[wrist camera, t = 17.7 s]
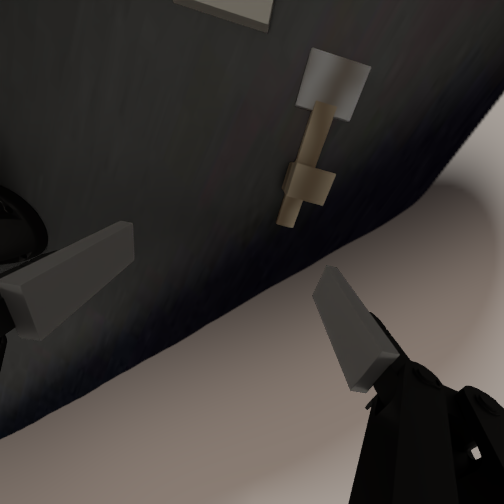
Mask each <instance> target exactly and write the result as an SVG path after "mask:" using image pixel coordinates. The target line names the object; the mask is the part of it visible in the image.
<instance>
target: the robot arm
mask: <svg viewBox="0 0 504 504" xmlns="http://www.w3.org/2000/svg"><path fill="white" fill-rule="evenodd" d="M46 245H47V234H46V230H45V227H44V225H43V223H42V221H41V219H40V218H39V216H38V215H37V214H36V212H35V211H34V210H33V209H32V208H31V207H30V206H29V205H28V204H27V203H26V202H25V201H24V200H23V199H22V198H20V197H19V196H18V195H16V194H15V193H13V192H11V191H9V190H8V189H6V188H3V187H1V186H0V265H4V264H10V263H16V262H22V261H25V260H28V259H30V258H33V257H35V256H37V255H39V254H41V253H42V252H43V251H44V249H45V248H46ZM134 260H135V257H134V235H133V223H130V222H125V221H119V222H116V223H114V224H112V225H110V226H108V227H106V228H104V229H102V230H100V231H98V232H96V233H94V234H92V235H90V236H87V237H85V238H83V239H81V240H79V241H77V242H75V243H73V244H71V245H69V246H67V247H65V248H63V249H61V250H59V251H53V252H49V253H46V254H42V255H40V256H38V257H35V258H33V259H31V260H30V261H27V262H25V263H22V264H20V265H19V266H16V267H14V268H12V269H10V270H7V271H5V272H3V273H1V274H0V371H1V367H2V362H3V358H4V353H5V349H6V345H7V338H6V335H5V334H6V333H8V332H9V331H11V330H12V329H13V328H16V330H17V333H18V335H19V337H20V338H23V339H29V340H36V341H42V340H43V339H44V338H45V337H46V336H47V335H49V334H50V333H51V332H52V331H53V330H54V329H56V328H57V327H58V326H59V325H60V324H61V323H62V322H64V321H65V320H66V319H67V318H68V317H69V316H71V315H72V314H73V313H74V312H75V311H76V310H78V309H79V308H80V307H81V306H82V305H83V304H84V303H86V302H87V301H88V300H89V299H90V298H91V297H93V296H94V295H95V294H96V293H97V292H98V291H99V290H101V289H102V288H103V287H104V286H105V285H106V284H108V283H109V282H110V281H111V280H112V279H113V278H114V277H116V276H117V275H118V274H119V273H120V272H121V271H123V270H124V269H125V268H126V267H127V266H128V265H129V264H131V263H132V262H133V261H134ZM312 296H313V299H314V301H315V304H316V306H317V309H318V311H319V314H320V316H321V319H322V321H323V324H324V326H325V329H326V331H327V334H328V336H329V339H330V341H331V344H332V346H333V349H334V351H335V353H336V356H337V358H338V361H339V364H340V366H341V368H342V371H343V373H344V376H345V378H346V381H347V383H348V386H349V388H350V391H356V392H362V393H367V392H368V390H369V389H370V388H371V387H372V386H374V388H375V390H376V392H377V395H376V396H375V397H374V398H373V399H372V400H371V401H370V402H369V403H368V404H367V406H366V407H365V408H366V409H367V410H368V409H369V408H370V407H371V411H370V415H369V419H368V423H367V428H366V432H365V436H364V441H363V445H362V449H361V454H360V457H359V462H358V466H357V470H356V474H355V478H354V483H353V487H352V492H351V496H350V500H349V504H504V408H503V407H502V406H500V405H499V404H498V403H497V402H496V400H494V399H493V398H492V397H490V396H489V395H488V394H486V393H484V392H482V391H481V390H479V389H477V388H475V387H472V386H465V387H464V388H462V389H461V390H460V391H459V392H458V391H455V390H453V389H451V388H449V387H446V386H444V385H442V383H441V382H440V380H439V379H438V378H437V377H436V376H435V375H434V374H433V373H432V372H431V371H429V370H428V369H427V368H426V367H424V366H423V365H421V364H419V363H417V362H413V361H411V360H410V359H409V358H408V356H407V355H406V354H405V353H404V351H403V350H402V349H401V347H400V346H399V345H398V343H397V342H396V341H395V339H394V338H393V337H392V336H391V334H390V333H389V331H388V330H386V327H385V326H384V325H383V323H382V322H381V321H380V320H379V319H378V318H377V317H376V316H375V315H374V314H373V313H371V312H369V311H368V310H367V308H366V307H365V306H364V304H363V303H362V302H361V300H360V299H359V297H358V296H357V295H356V293H355V292H354V290H353V289H352V288H351V286H350V285H349V284H348V282H347V281H346V279H345V278H344V277H343V275H342V274H341V272H340V271H339V270H338V268H337V267H332V266H328V265H326V268H325V270H324V272H323V274H322V277H321V278H320V280H319V282H318V285H317V287H316V289H315V291H314V293H313V295H312ZM477 446H478V449H479V451H480V454H481V458H479V459H477V460H475V458H474V457H473V454H472V452H471V450H472V449H473V448H475V447H477Z"/></svg>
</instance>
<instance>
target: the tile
mask: <svg viewBox="0 0 504 504" xmlns="http://www.w3.org/2000/svg"><path fill="white" fill-rule="evenodd" d="M172 1H173V3H175V4H178V5H181V6H185V7H188V8H191V9H194V10H197V11H200V12H203V13H206V14H209V15H212V16H215V17H218V18H222V19H225V20H228V21H231V22H234V23H237V24H240V25H243V26H246V27H249V28H252V29H255V30H259V31H262V32H265V33H268V30H269V25H270V20H271V15H272V10H273V5H274V0H172Z"/></svg>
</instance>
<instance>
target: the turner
mask: <svg viewBox="0 0 504 504" xmlns="http://www.w3.org/2000/svg"><path fill="white" fill-rule="evenodd" d="M370 69H371V67H370V66H367V65H364V64H361V63H358V62H355V61H352V60H349V59H346V58H343V57H340V56H337V55H334V54H331V53H327V52H324V51H321V50H318V49H315V48H312V49H311V51H310V54H309V58H308V61H307V65H306V68H305V72H304V75H303V79H302V82H301V86H300V89H299V93H298V96H297V100H296V103H295V107H298V108H302V109H305V110H308V111H311V114H310V117H309V120H308V123H307V126H306V129H305V132H304V135H303V139H302V142H301V145H300V148H299V151H298V154H297V157H296V160H295V162H290V163H289V166H288V169H287V172H286V176H285V179H284V182H283V185H282V189H283V191H284V193H285V195H284V198H283V201H282V204H281V207H280V210H279V213H278V217H277V220H276V224H279V225H282V226H286V227H290V228H293V226H294V223H295V221H296V218H297V215H298V213H299V210H300V207H301V204H302V202H303V200H304V201H307V202H311V203H315V204H318V205H322V206H323V204H324V202H325V200H326V197H327V195H328V192H329V190H330V188H331V185H332V183H333V180H334V178H335V176H336V174H334V173H331V172H327V171H324V170H320V169H317V168H315V166H316V163H317V161H318V158H319V155H320V153H321V150H322V147H323V144H324V142H325V139H326V136H327V134H328V131H329V128H330V125H331V123H332V120H333V118H334V119H338V120H341V121H344V122H349V121H350V119H351V116H352V114H353V111H354V109H355V106H356V104H357V101H358V99H359V96H360V94H361V91H362V89H363V86H364V84H365V81H366V79H367V76H368V74H369V71H370Z"/></svg>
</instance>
